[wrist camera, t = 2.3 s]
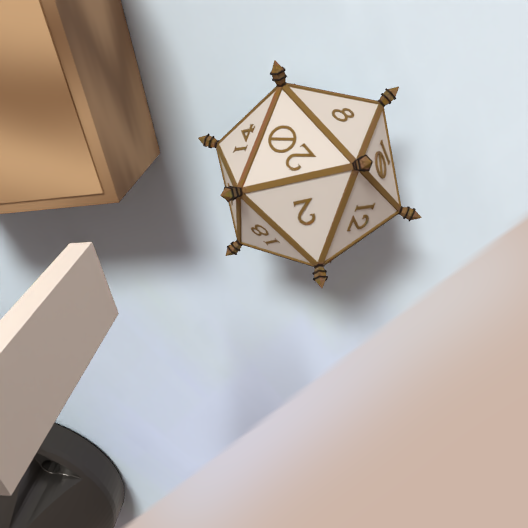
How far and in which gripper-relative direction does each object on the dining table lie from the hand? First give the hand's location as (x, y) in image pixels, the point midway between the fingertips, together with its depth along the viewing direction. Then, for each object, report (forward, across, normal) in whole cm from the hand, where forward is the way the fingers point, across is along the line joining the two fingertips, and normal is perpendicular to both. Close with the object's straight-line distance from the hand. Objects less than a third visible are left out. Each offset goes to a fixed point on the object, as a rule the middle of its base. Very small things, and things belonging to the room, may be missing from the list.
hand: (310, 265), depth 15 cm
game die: (+12, 0, 0) cm, 12 cm away
